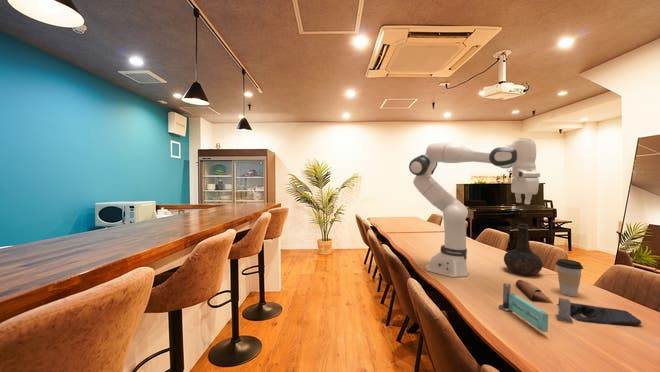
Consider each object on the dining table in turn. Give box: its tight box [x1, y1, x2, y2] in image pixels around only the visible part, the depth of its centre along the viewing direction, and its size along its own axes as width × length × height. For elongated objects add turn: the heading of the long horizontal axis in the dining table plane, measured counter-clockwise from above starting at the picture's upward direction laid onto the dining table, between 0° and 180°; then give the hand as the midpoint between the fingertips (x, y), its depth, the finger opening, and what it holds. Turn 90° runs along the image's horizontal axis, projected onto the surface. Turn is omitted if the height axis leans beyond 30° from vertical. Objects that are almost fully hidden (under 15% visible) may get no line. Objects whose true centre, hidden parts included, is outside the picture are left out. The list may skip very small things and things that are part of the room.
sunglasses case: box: [515, 279, 554, 305], centre depth 120 cm, size 18×7×7 cm, turn 164°
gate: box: [509, 292, 549, 333], centre depth 95 cm, size 16×2×6 cm, turn 1°
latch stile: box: [555, 297, 574, 324], centre depth 98 cm, size 4×4×8 cm
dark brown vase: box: [503, 222, 544, 276], centre depth 147 cm, size 18×18×28 cm
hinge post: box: [498, 282, 514, 313], centre depth 105 cm, size 5×5×10 cm
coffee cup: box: [555, 258, 584, 297], centre depth 120 cm, size 9×9×15 cm
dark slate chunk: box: [556, 302, 642, 326], centre depth 101 cm, size 15×22×5 cm
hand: (522, 203), depth 121 cm, fingers open, 8 cm apart
